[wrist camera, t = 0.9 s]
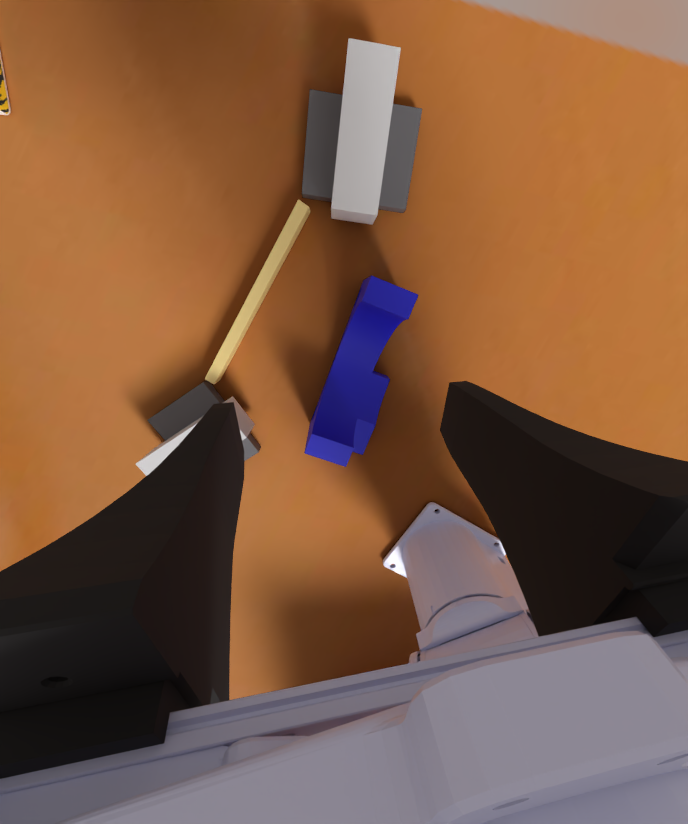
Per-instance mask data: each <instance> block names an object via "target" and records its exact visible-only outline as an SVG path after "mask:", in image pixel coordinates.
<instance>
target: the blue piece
mask: <svg viewBox="0 0 688 824" xmlns="http://www.w3.org/2000/svg"><path fill="white" fill-rule="evenodd" d="M417 297H418V295H417V294H415V293H413V292H410V291H408V290H405V289H403V288H401V287H398V286H396V285H393V284H391V283H389V282H386V281H384V280H381V279H379V278H376V277H374V276H370V277H368V278H366V279H365V280H363V283H362V285H361V288H360V291H359V294H358V296H357V299H356V302H355V304H354V307H353V310H352V312H351V315H350V318H349V320H348V323H347V326H346V328H345V331H344V334H343V336H342V339H341V342H340V345H339V347H338V350H337V353H336V355H335V358H334V361H333V363H332V366H331V369H330V371H329V374H328V377H327V379H326V382H325V385H324V387H323V390H322V393H321V396H320V398H319V401H318V404H317V406H316V409H315V412H314V414H313V417H312V420H311V422H310V426H309V432H308V437H307V442H306V448H305V454H308V455H311V456H315V457H318V458H321V459H324V460H327V461H330V462H333V463H336V464H339V465H342V466H345V467H346V465H347V463H348V461H349V458H350V456H351V454H352V452H355V453H358V454H361V455H363V453H364V451H365V448H366V446H367V444H368V442H369V439H370V437H371V435H372V432H373V430H374V428H375V425H376V421H377V417H378V413H379V409H380V406H381V403H382V400H383V397H384V394H385V391H386V389H387V386H388V384H389V381H390V379H389V377H388V376H386V375H384V374H381V373H378V372H376V371H373V370H374V367H375V365H376V363H377V361H378V358H379V356H380V354H381V352H382V350H383V348H384V346H385V345H386V343H387V341H388V339H389V338H390V336H391V335H392V333H393V332H394V330H395V329H396V328H397V326H398V325H399V324H400V323H401V322H402V321H404V320H406V319H409V316H410V314H411V311H412V309H413V307H414V304H415V302H416V300H417Z"/></svg>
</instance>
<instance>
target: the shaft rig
mask: <svg viewBox="0 0 688 824" xmlns="http://www.w3.org/2000/svg"><path fill="white" fill-rule="evenodd" d="M400 50H401V48H400V47H394V46H389V45H384V44H378V43H373V42H367V41H362V40H357V39H351V38H349V39H348V49H347V59H346V68H345V78H344V88H343V95H340V94H335V93H329V92H323V91H318V90H312V89H310V94H309V107H308V120H307V132H306V145H305V158H304V170H303V183H302V196H303V198H309V199H315V200H322V201H328V202H332V205H331V219H338V220H344V221H351V222H358V223H364V224H371V225H372V224H373V223H374V221H375V219H376V217H377V214H378V209H380V210H387V211H393V212H400V213H403V212H404V211H405V210H406V206H407V199H408V193H409V187H410V181H411V175H412V168H413V162H414V156H415V150H416V144H417V137H418V131H419V125H420V119H421V113H422V109H421V108H415V107H409V106H404V105H398V104H393V100H394V93H395V85H396V78H397V71H398V64H399V57H400ZM309 214H310V208H309V206H307V205H306V204H304V203H303V202H301V201H300V200H299V199H298V201H297V203H296V205H295V207H294V209H293V211H292V213H291V215H290V216H289V218H288V220H287V222H286V224H285V226H284V228H283V230H282V232H281V234H280V236H279V238H278V239H277V241H276V243H275V245H274V247H273V249H272V251H271V253H270V255H269V257H268V259H267V260H266V262H265V264H264V266H263V268H262V270H261V272H260V274H259V276H258V278H257V280H256V281H255V283H254V285H253V287H252V289H251V291H250V293H249V295H248V297H247V299H246V301H245V303H244V304H243V306H242V308H241V310H240V312H239V314H238V316H237V318H236V320H235V322H234V324H233V325H232V327H231V329H230V331H229V333H228V335H227V337H226V339H225V341H224V343H223V345H222V347H221V348H220V350H219V352H218V354H217V356H216V358H215V360H214V362H213V364H212V366H211V368H210V369H209V371H208V373H207V375H206V377H205V380H206V381H204V382H203V383H201V384H200V385H198V386H197V387H195V388H194V389H192V390H191V391H189V392H188V393H186V394H185V395H184V396H182V397H181V398H179V399H178V400H176V401H175V402H173V403H172V404H170V405H169V406H167V407H166V408H164V409H163V410H162V411H160V412H159V413H157V414H156V415H154V416H153V417H151V418H150V419H148V422H149V423H150V424H151V425H152V426H153V427H154V428H155V430H156V431H157V432H158V433H159V434H160V435H161V436H162V437H163V439H164V440H165V441H164V442H163V443H161V444H160V445H158V446H157V447H155V448H154V449H153V450H152V451H150V452H149V453H148V454H147V455H146V456H144V457H143V458H142V459H141V460H140V461H139V462H137V463H136V465H137V466H138V467H139V468H140V469H141V470H142V471H143V473H144V474H145V475H146V476H147V475H148V474H150V473H151V472H152V471H153V470H154V469H155V468H156V467H157V466H158V465H159V464H160V463H161V462H162V461H163V460H164V459H165V458H166V457H167V456H168V455H169V454H170V453H171V452H172V451H173V450H174V449H175V448H176V447H177V446H178V445H179V444H180V443H181V442H182V441H183V439H184V438H185V437H186V436H187V435H188V434H189V433H190V431H191V430H192V429H193V428H194V427H195V426H196V424H197V423H198V422H199V421H200V420H201V418H202V417H203V416H204V415H205V413H206V412H207V411H208V410H209V409H210V408H211V407H212V405H213V404H218V403H229V402H234V406H235V410H236V415H237V419H238V424H239V429H240V433H241V438H242V443H243V447H244V461H245V460H247V459H248V458H250V457H252V456H253V455H255V454H256V453H258V452H259V450H260V448H261V446H260V445H259V444H258V443H257V441H256V440H255V439H254V438H253V436H252V435H251V434H250V431H251V430H252V428H253V427H254V425H255V424H254V423H253V421H252V420H251V419H250V418H249V416H248V415H247V414H246V412H245V411H244V410H243V409H242V407H241V406H240V405H239V403H238V402H237V401H236V400H235V398H234V397H233V396H232V397H231V398H229V399H228V400H226V401H224V400H223V398H222V397H221V396H220V395H219V393H218V392H217V391H216V390H215V388H214V387H213V386H212V384H211V383H213V384H216V383H217V382H218V381H220V380H221V378H222V376H223V374H224V372H225V371H226V369H227V367H228V365H229V363H230V361H231V359H232V358H233V356H234V354H235V352H236V350H237V348H238V346H239V345H240V343H241V341H242V339H243V337H244V335H245V333H246V331H247V330H248V328H249V326H250V324H251V322H252V320H253V318H254V317H255V315H256V313H257V311H258V309H259V307H260V305H261V304H262V302H263V300H264V298H265V296H266V294H267V292H268V290H269V289H270V287H271V285H272V283H273V281H274V279H275V277H276V276H277V274H278V272H279V270H280V268H281V266H282V264H283V263H284V261H285V259H286V257H287V255H288V253H289V251H290V250H291V248H292V246H293V244H294V242H295V240H296V238H297V236H298V235H299V233H300V231H301V229H302V227H303V225H304V223H305V222H306V220H307V218H308V216H309ZM210 382H211V383H210Z"/></svg>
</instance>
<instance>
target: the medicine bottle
mask: <svg viewBox="0 0 688 824" xmlns="http://www.w3.org/2000/svg"><path fill="white" fill-rule="evenodd" d="M10 113H11V108H10V102H9V97H8V91H7V85H6V79H5V74H4V68H3V62H2V56H1V51H0V115H9V114H10Z"/></svg>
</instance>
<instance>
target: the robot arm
mask: <svg viewBox="0 0 688 824" xmlns="http://www.w3.org/2000/svg"><path fill="white" fill-rule="evenodd" d="M440 431H441V433H442V436H443V438H444V441H445V443H446V445H447V448H448V450H449V452H450V454H451V456H452V458H453V459H454V461H455V462H456V464H457V466H458V467H459V469H460V471H461V472H462V474H463V475H464V477H465V479H466V480H467V482H468V483H469V485H470V487H471V488H472V490H473V491H474V493H475V495H476V496H477V498H478V499H479V501H480V503H481V504H482V506H483V508H484V509H485V511H486V513H487V515H488V517H489V519H490V521H491V523H492V525H493V527H494V529H495V531H496V533H497V535H498V537H499V539H498V538H496V537H495V536H493V535H491V534H489V533H488V532H486V531H484V530H482V529H481V528H479V527H477V526H475V525H473V524H472V523H470V522H468V521H466V520H465V519H463V518H461V517H459V516H458V515H456V514H454V513H452V512H451V511H449V510H447V509H445V508H443V507H442V506H440V505H438V504H436V503H434V502H430V503H428V504H427V505H426V507H425V508H424V509H423V510H422V512H421V513H420V514H419V515H418V517H417V518H416V519H415V520H414V522H413V523H412V524H411V525H410V527H409V528H408V529H407V530H406V532H405V533H404V534H403V535H402V537H401V538H400V539H399V540H398V542H397V543H396V544H395V545H394V547H393V548H392V549H391V550H390V552H389V553H388V554H387V555H386V557H385V558H384V559H383V565H384V566H385V567H386V568H388V569H390V570H392V571H394V572H396V573H398V574H400V575H402V576H404V577H406V578H407V579H408V583H409V587H410V591H411V594H412V598H413V602H414V606H415V609H416V613H417V617H418V621H419V625H420V628H421V631H420V632H418V633H417V634H416V636H417V641H418V645H419V649H420V651H421V652H420V651H416V652H413V653H411V654H410V657H409V663H408V664H404V665H399V666H394V667H389V668H384V669H379V670H375V671H370V672H365V673H360V674H355V675H350V676H345V677H340V678H336V679H331V680H326V681H321V682H316V683H311V684H306V685H301V686H297V687H292V688H287V689H282V690H277V691H272V692H267V693H263V694H258V695H253V696H248V697H243V698H238V699H233V700H229V653H230V610H231V583H232V562H233V548H234V539H235V533H236V527H237V520H238V514H239V507H240V501H241V495H242V488H243V481H244V447H243V443H242V438H241V433H240V429H239V424H238V419H237V415H236V410H235V406H234V402H229V403H218V404H213V405H212V407H211V408H210V409H209V410H208V411H207V412H206V413H205V415H204V416H203V417H202V418H201V420H200V421H199V422H198V423H197V424H196V426H195V427H194V428H193V429H192V430H191V431H190V433H189V434H188V435H187V436H186V437H185V438H184V439H183V441H182V442H181V443H180V444H179V445H178V446H177V447H176V448H175V449H174V450H173V451H172V452H171V453H170V454H169V455H168V456H167V457H166V458H165V459H164V460H163V461H162V462H161V463H160V464H159V465H158V466H157V467H156V468H155V469H154V470H153V471H152V472H151V473H150V474H148V475H147V476H146V477H145V478H144V479H142V480H141V481H140V482H139V483H138V484H137V485H135V486H134V487H133V488H132V489H130V490H129V491H128V492H127V493H125V494H124V495H123V496H121V497H120V498H118V499H117V500H116V501H114V502H113V503H112V504H110V505H109V506H107V507H106V508H105V509H103V510H102V511H101V512H99V513H98V514H96V515H95V516H94V517H92V518H91V519H89V520H88V521H86V522H84V523H83V524H81V525H80V526H78V527H77V528H75V529H74V530H72V531H70V532H69V533H67V534H66V535H64V536H62V537H61V538H59V539H57V540H56V541H54V542H53V543H51V544H49V545H47V546H46V547H44V548H42V549H41V550H39V551H37V552H35V553H33V554H32V555H30V556H28V557H26V558H24V559H22V560H21V561H19V562H17V563H15V564H13V565H11V566H10V567H8V568H6V569H4V570H2V571H1V572H0V824H688V462H687V461H682V460H677V459H673V458H669V457H664V456H660V455H656V454H651V453H647V452H643V451H640V450H636V449H632V448H628V447H625V446H621V445H618V444H615V443H611V442H608V441H605V440H601V439H598V438H595V437H592V436H589V435H586V434H584V433H581V432H578V431H576V430H573V429H570V428H567V427H565V426H562V425H560V424H557V423H555V422H553V421H550V420H548V419H546V418H543V417H541V416H539V415H537V414H534V413H532V412H530V411H528V410H526V409H524V408H522V407H520V406H518V405H516V404H514V403H512V402H510V401H508V400H506V399H504V398H502V397H500V396H498V395H496V394H494V393H492V392H490V391H488V390H486V389H484V388H481V387H479V386H477V385H475V384H473V383H470V382H467V381H462V382H450V383H449V388H448V393H447V398H446V403H445V408H444V413H443V418H442V423H441V428H440ZM436 509H439V510H438V511H436V512H435V510H436ZM496 542H497V543H496ZM494 543H496V544H494ZM505 554H506V555H507V557H508V560H509V562H510V564H511V565H510V564H509V562H508V561H507V559H506V558H505V556H504V555H505ZM391 564H394V565H391ZM511 566H512V567H511Z"/></svg>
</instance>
